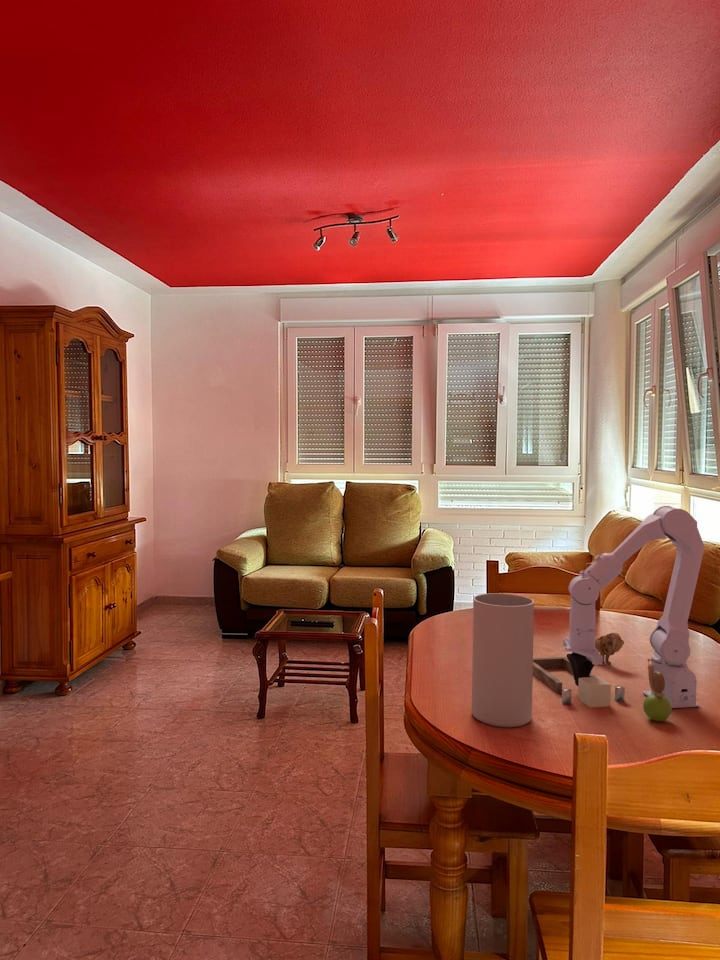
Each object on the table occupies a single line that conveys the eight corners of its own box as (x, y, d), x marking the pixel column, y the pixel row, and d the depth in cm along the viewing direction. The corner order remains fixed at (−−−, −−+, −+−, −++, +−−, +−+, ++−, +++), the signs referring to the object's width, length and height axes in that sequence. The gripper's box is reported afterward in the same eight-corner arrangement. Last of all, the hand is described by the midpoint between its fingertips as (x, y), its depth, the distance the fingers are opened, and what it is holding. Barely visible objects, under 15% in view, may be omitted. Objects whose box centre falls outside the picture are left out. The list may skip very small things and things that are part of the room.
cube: (610, 706, 142) (611, 684, 142) (590, 707, 141) (590, 685, 141) (597, 698, 147) (598, 676, 147) (578, 699, 146) (578, 677, 146)
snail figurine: (660, 713, 138) (662, 658, 138) (676, 725, 132) (677, 668, 131) (636, 713, 138) (637, 658, 137) (650, 725, 131) (651, 668, 131)
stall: (602, 690, 151) (602, 680, 151) (557, 693, 149) (557, 682, 149) (564, 666, 169) (565, 656, 169) (524, 668, 167) (524, 658, 167)
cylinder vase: (459, 715, 135) (461, 599, 135) (492, 700, 144) (494, 591, 143) (510, 734, 126) (513, 609, 126) (542, 717, 135) (545, 600, 134)
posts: (626, 701, 144) (626, 688, 144) (564, 705, 142) (564, 691, 142) (621, 698, 146) (621, 685, 146) (560, 701, 144) (560, 688, 144)
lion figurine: (626, 666, 169) (627, 633, 169) (614, 670, 166) (615, 636, 166) (580, 652, 181) (581, 621, 181) (568, 655, 179) (568, 623, 178)
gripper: (551, 620, 156) (550, 676, 156) (582, 637, 141) (581, 697, 142) (578, 620, 157) (577, 674, 157) (611, 636, 142) (610, 696, 143)
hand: (581, 685), depth 150 cm, fingers closed
